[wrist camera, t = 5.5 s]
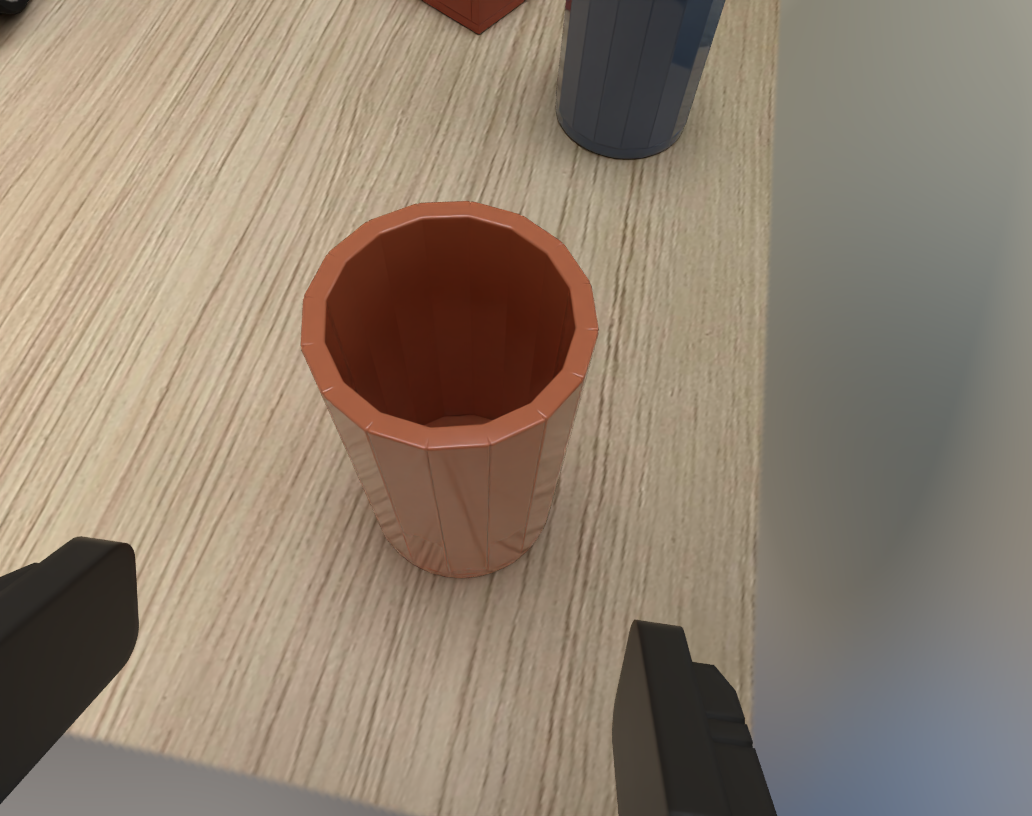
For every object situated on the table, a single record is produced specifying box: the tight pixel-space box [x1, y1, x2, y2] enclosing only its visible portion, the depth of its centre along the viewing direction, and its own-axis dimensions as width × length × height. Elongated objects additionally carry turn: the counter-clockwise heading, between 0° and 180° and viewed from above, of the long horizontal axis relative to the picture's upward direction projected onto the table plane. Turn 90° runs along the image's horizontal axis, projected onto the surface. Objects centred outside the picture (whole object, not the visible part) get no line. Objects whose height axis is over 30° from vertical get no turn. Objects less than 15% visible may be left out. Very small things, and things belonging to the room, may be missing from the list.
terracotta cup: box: [301, 201, 599, 578], centre depth 20 cm, size 6×6×11 cm
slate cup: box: [556, 0, 725, 159], centre depth 29 cm, size 6×6×9 cm
